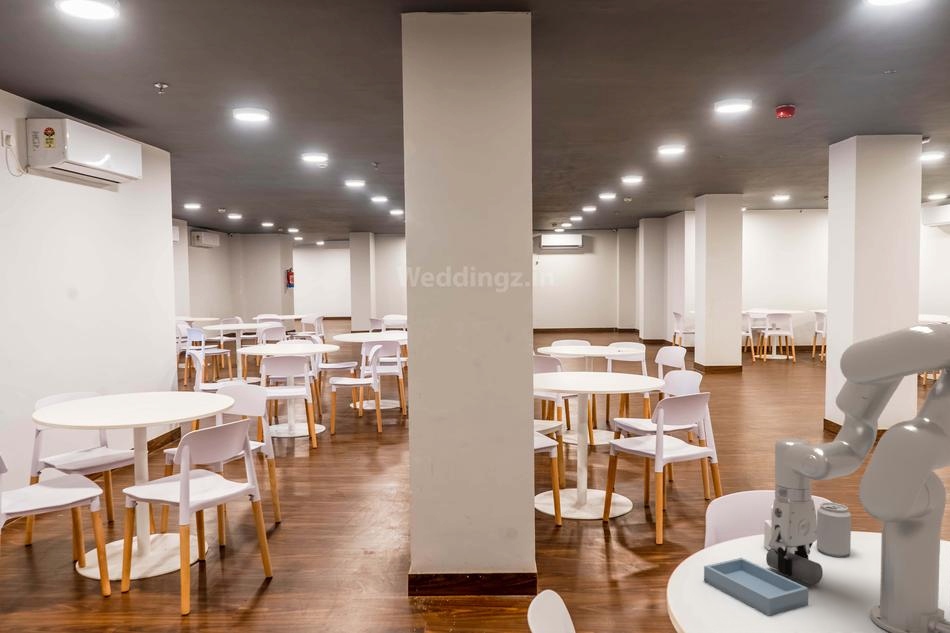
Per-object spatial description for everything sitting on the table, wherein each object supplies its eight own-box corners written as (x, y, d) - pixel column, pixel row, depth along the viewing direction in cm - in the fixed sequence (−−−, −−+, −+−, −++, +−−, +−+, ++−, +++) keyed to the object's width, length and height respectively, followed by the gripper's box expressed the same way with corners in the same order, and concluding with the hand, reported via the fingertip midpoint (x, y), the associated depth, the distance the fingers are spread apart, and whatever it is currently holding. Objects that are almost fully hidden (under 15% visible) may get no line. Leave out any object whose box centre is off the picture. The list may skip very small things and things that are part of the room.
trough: (808, 604, 136) (808, 588, 136) (768, 615, 131) (769, 598, 131) (741, 572, 152) (741, 557, 151) (704, 581, 147) (704, 566, 147)
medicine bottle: (792, 548, 167) (793, 502, 166) (803, 559, 160) (804, 511, 159) (763, 546, 167) (764, 500, 167) (773, 557, 160) (774, 509, 160)
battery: (821, 584, 144) (823, 562, 144) (806, 585, 142) (809, 563, 142) (775, 565, 155) (778, 545, 155) (761, 565, 153) (763, 545, 153)
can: (809, 549, 166) (810, 503, 166) (829, 544, 169) (830, 499, 169) (837, 560, 159) (838, 511, 159) (857, 555, 162) (858, 507, 162)
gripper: (781, 502, 141) (781, 585, 141) (832, 492, 148) (832, 571, 149) (753, 493, 148) (753, 572, 148) (803, 484, 155) (804, 560, 155)
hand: (793, 571), depth 148 cm, fingers closed on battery, 4 cm apart
